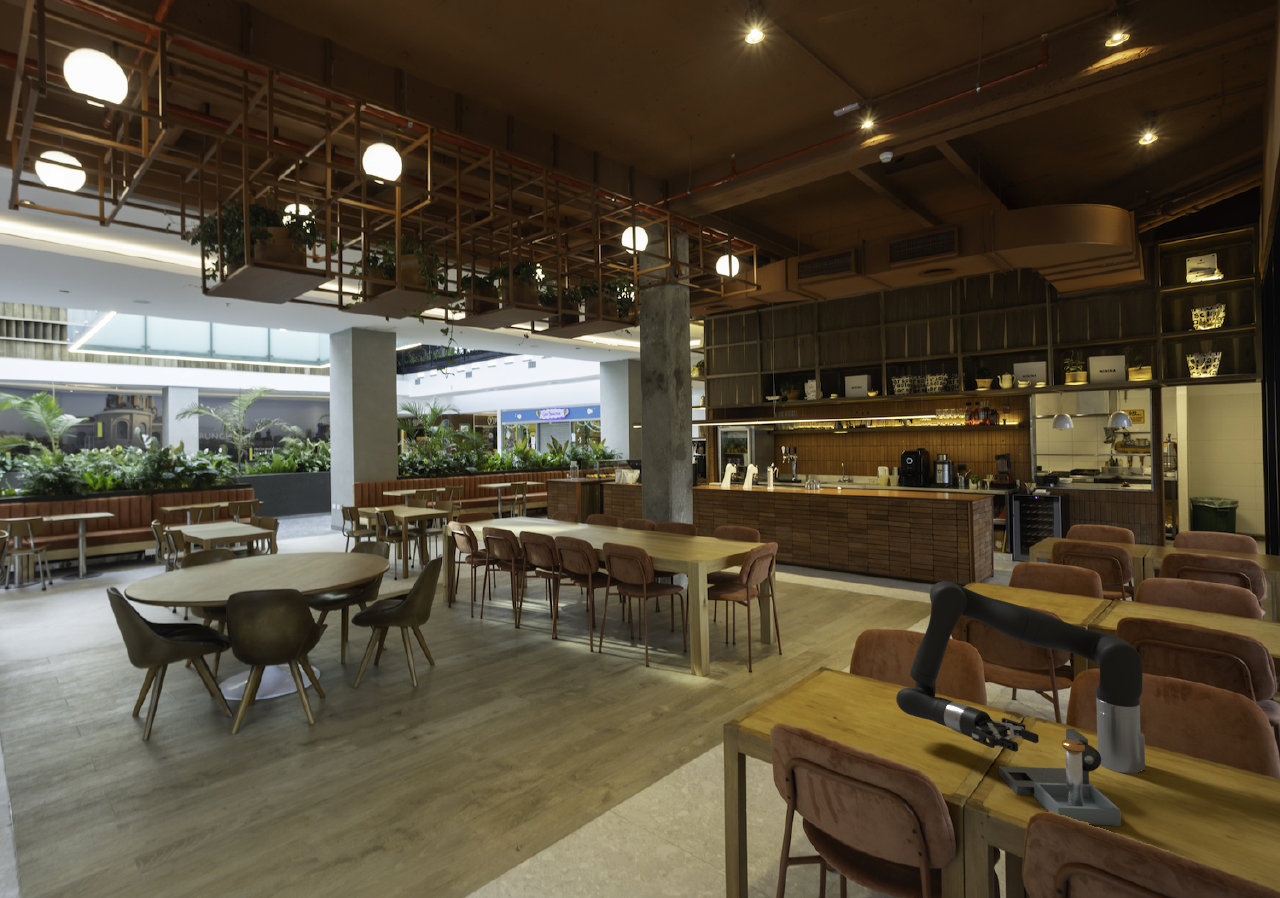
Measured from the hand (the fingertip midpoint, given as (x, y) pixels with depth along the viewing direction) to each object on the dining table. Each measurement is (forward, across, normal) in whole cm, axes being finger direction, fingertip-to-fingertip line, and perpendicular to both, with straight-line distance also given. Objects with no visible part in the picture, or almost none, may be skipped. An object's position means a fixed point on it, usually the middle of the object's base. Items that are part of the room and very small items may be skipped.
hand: (1027, 743), depth 160 cm
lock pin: (+11, 0, +11) cm, 15 cm away
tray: (+11, 0, +12) cm, 16 cm away
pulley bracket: (+1, +6, +12) cm, 13 cm away
